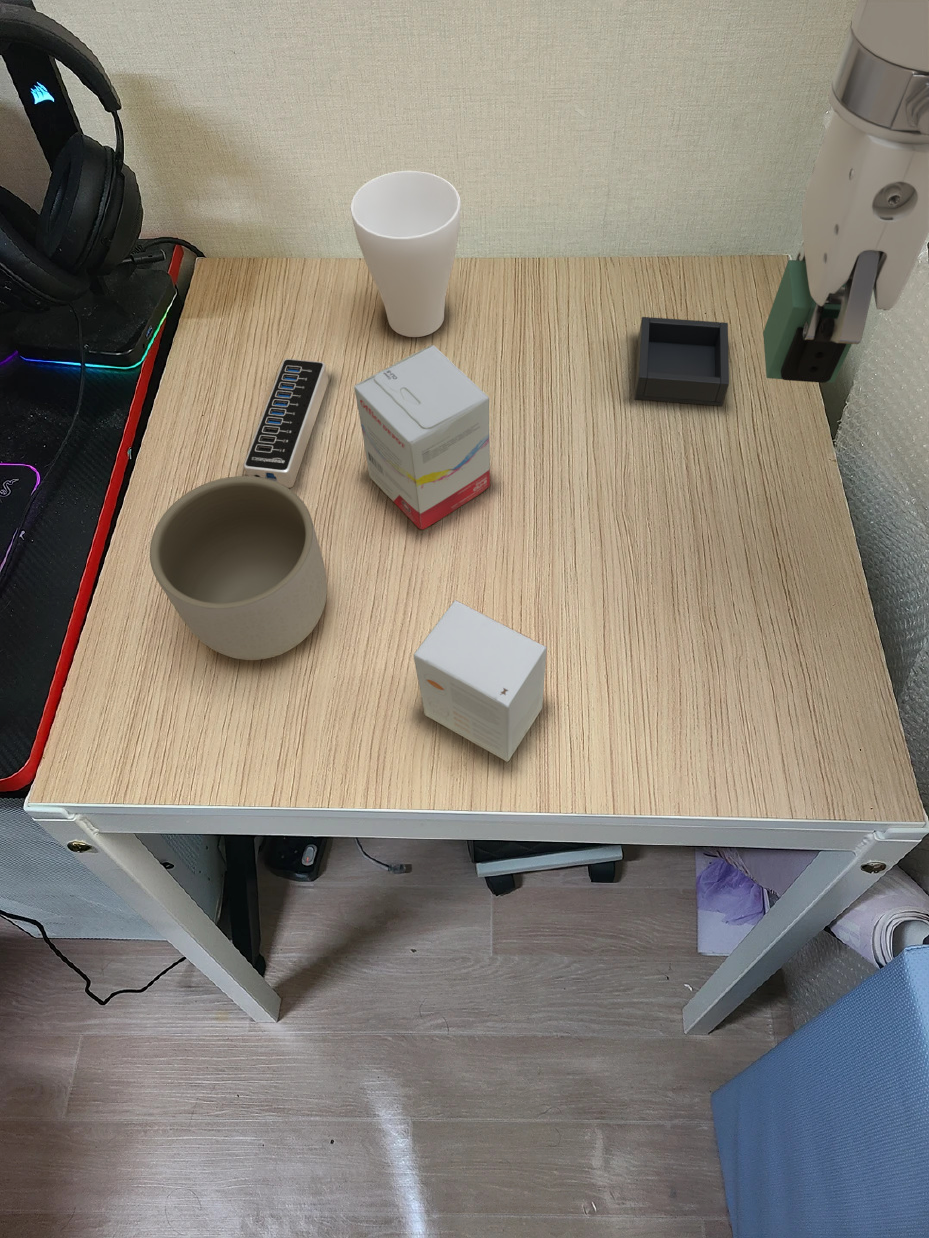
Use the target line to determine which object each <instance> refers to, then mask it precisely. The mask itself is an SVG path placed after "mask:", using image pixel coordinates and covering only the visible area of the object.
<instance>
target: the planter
mask: <svg viewBox="0 0 929 1238" xmlns="http://www.w3.org/2000/svg"><path fill="white" fill-rule="evenodd" d="M149 562H150V566H151V570H152V573H153V575H154V577H155V579H156V581H157V582H158V584H159V586H160V587H161V589H162V591H163V592H164V594H165V595H166V596H167V598H168V599H169V601H170V602H171V604H172V606H173V607H174V609H175V611H176V612H177V614H178V615H179V617H180V618H181V620H182V621H183V623H184V624H185V625H186V626H187V628H188V629H189V630H190V632H191V633H192V634H193V635H194V636H195V637H196V638H197V639H198V640H199V641H200V642H202V644H204V645H205V646H206V647H208V648H209V649H211V650H213V651H214V652H217V653H219V654H221V655H223V656H226V657H229V658H233V659H236V660H243V661H257V660H258V661H259V660H267V659H271V658H275V657H278V656H280V655H282V654H284V653H287V652H289V651H290V650H292V649H294V648H295V647H297V646H298V645H300V644H301V643H302V642H303V641H304V640H305V639H306V638H307V637H308V636H309V635H310V634H311V633H312V632H313V630H314V629H315V628H316V626H317V624H318V623H319V621H320V619H321V617H322V614H323V612H324V609H325V605H326V601H327V595H328V581H327V571H326V567H325V562H324V558H323V554H322V550H321V547H320V543H319V540H318V536H317V532H316V529H315V525H314V521H313V518H312V515H311V513H310V510H309V509H308V507H307V505H306V504H305V502H304V501H303V500H302V498H300V497H299V495H298V494H297V493H295V492H294V491H293V490H292V489H290V488H287V487H286V486H284V485H282V484H280V483H278V482H275V481H272V480H269V479H265V478H261V477H254V476H247V475H237V476H235V475H234V476H228V477H222V478H217V479H215V480H211V481H209V482H206V483H203V484H201V485H199V486H197V487H195V488H193V489H191V490H190V491H188V492H186V493H184V494H183V495H181V497H179V498H178V499H177V500H176V501H175V502H173V503H172V505H170V507H168V509H166V511H165V512H164V514H162V515H161V518H160V519H159V520H158V522H157V524H156V526H155V529H154V531H153V533H152V535H151V540H150V545H149Z"/></svg>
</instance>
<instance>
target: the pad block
mask: <svg viewBox="0 0 929 1238" xmlns="http://www.w3.org/2000/svg"><path fill="white" fill-rule="evenodd" d="M845 285H846V284H844V285H843V286H842V287H845ZM812 299H813V298H812V297H811V294H810V290H809V283H808V276H807V268H806V261H798V260H796V259H788V260H787V263H786V265H785V268H784V272H783V273H782V277H781V280H780V283H779V286H778V288H777V292H776V294H775V297H774V299H773V303H772V306H771V309H770V311H769V315H768V317H767V320H766V324H765V325H764V328H763V332H762V336H763V337H762V338H763V350H764V362H765V363H764V364H765V373H766V374H765V375H766V379H772V380H773V379H774V380H775V379H776V380H783V379H782V378H781V369H782V366H783V364H784V361H785V359H786V356H787V353H788V351H789V348H790V346H791V343H792V341H793V338H794V335H795V333H796V330H797V328H798V327H799V328H804V325H805V322H806V318H807V315H808V312H809V309H810V305H811V302H812ZM840 308H841V305H836V304H825V307H824V310H823V314H822V317H821V319H824V318H838V316H839V313H840ZM852 345H853V344H846V347H845V349H844V351H843V353H842V355H841V357H840V360H839V362H838V364H837V366H836V368H835V370H834V373H833V375H832V377H831V379H830V380H829V381H828V382H827V383H832V384H833V383H835V381H836V379H837V377H838V375H839V372H840V371H841V368H842V367H843V364H844V362H845V360H846V358H847V356H848V354H849V352H850V349H851V347H852Z"/></svg>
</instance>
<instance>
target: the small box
mask: <svg viewBox="0 0 929 1238" xmlns="http://www.w3.org/2000/svg"><path fill="white" fill-rule="evenodd" d="M413 660H414V664H415V670H416V671H415V672H416V676H417V677H416V678H417V681H418V686H419V687H418V688H419V692H420V698H421V701H422V707H423V713H424V715H425V717H427V718H429V719H431V720H433V721H435V722H436V723H438V724H440V725H442V726H443V727H445V728H447V729H448V730H449V731H452V732H454V733H456V734H457V735H459V736H461V737H462V738H464V739H466V740H467V741H469V742H471V743H473V744H475V745H476V746H478V747H480V748H482V749H484V750H486V751H488V752H489V753H491V754H492V755H494V756H496V757H498V758H500V759H501V760H503V761H505V762H506V763H507V762H509V761H510V759H511V758H512V756H513V755H514V753H515V752H516V750H517V749H518V747H519V746H520V744H521V743H522V741H523V739H524V738H525V736H526V734H527V733H528V732H529V730H530V728H531V727H532V726H533V724H534V722H535V721H536V719H537V717H538V716H539V714H540V712H541V711H542V709H543V704H544V703H543V702H544V688H545V677H546V665H547V646H546V645H545V644H542V643H540V642H538V641H536V640H535V639H534V638H533V639H532V638H530V637H528V636H527V635H525V634H523V633H521V632H519V631H517V630H515V629H513V628H512V627H509V626H507V625H505V624H503V623H501V622H499V621H497V620H495V619H494V618H492V617H490V616H488V615H486V614H484V613H482V612H480V611H478V610H476V609H474V608H472V607H471V606H468V605H466V604H464V603H462V602H461V601H459V600H458V599H454V601H452V603H451V604H450V605H449V607H448V608H447V609H446V611H445V612H444V613H443V614H442V616H441V617H440V619H439V620H438V621H437V623H436V624H435V626H433V628H432V629H431V630H430V632H429V633H428V635H427V636H426V637H425V638H424V640H423V641H422V642H421V644H420V645H419V647H418V648H417V649H416V651H415V652H414V653H413Z"/></svg>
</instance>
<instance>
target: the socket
mask: <svg viewBox="0 0 929 1238" xmlns="http://www.w3.org/2000/svg"><path fill="white" fill-rule="evenodd" d="M636 350H637V351H636V364H635V365H636V366H635V386H634V400H639V401H640V400H642V401H651V402H653V401H654V402H667V403H680V404H690V405H691V404H692V405H705V406H715V407H716V406H717V407H722V406H723V405H724V402H725V398H726V394H727V392H728V389H729V385H730V366H729V364H730V362H729V361H730V359H729V358H730V357H729V323H728V322H723V321H721V322H720V321H708V320H695V319H694V320H693V319H680V318H679V319H678V318H667V317H649V316H641V321H640V325H639V332H638V336H637V348H636Z"/></svg>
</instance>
